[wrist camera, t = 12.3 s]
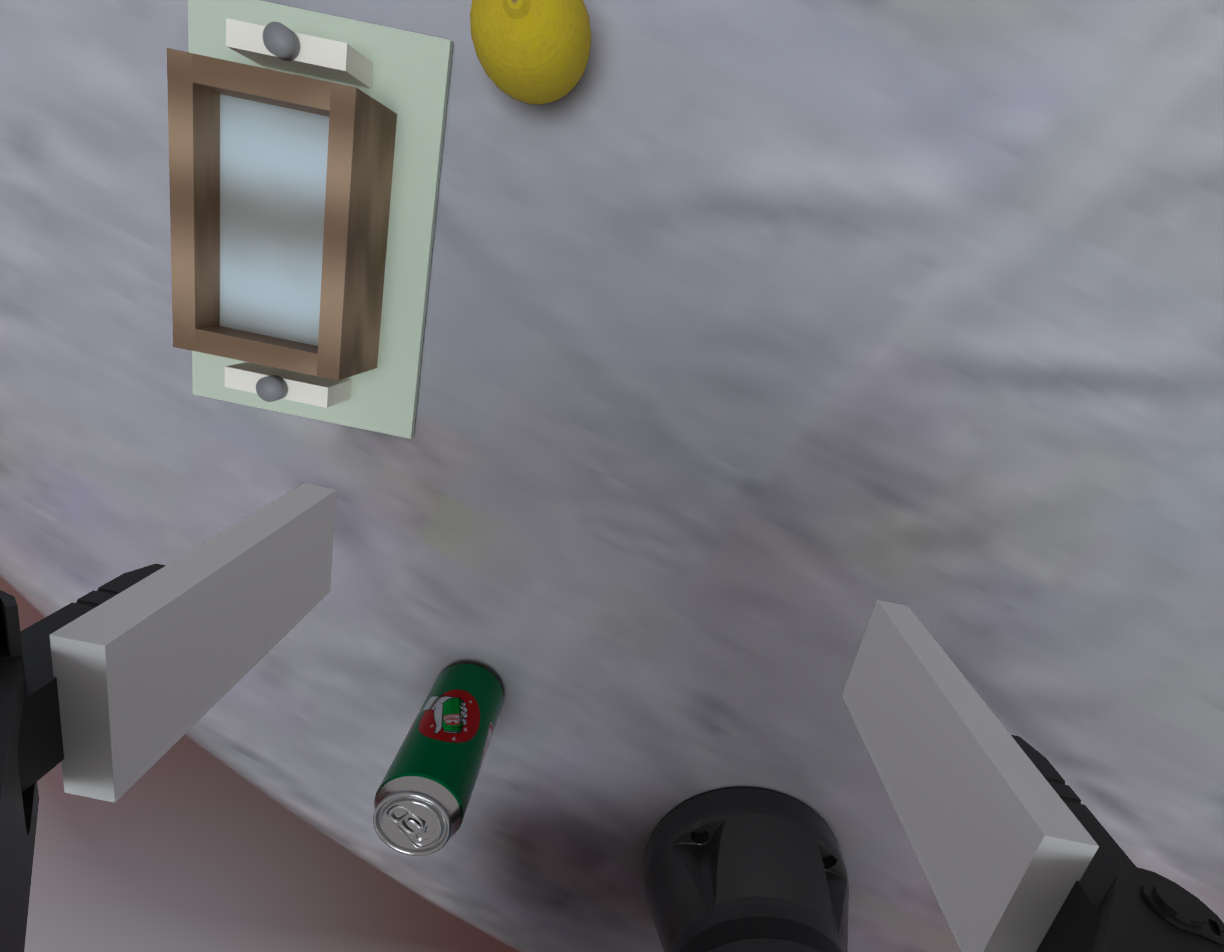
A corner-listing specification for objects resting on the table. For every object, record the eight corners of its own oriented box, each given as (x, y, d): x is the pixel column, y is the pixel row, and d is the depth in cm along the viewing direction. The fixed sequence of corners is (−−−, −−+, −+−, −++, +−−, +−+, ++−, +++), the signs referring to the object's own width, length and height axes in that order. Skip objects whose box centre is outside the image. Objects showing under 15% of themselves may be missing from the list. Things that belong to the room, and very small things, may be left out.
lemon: (487, 7, 33) (439, -75, 25) (593, -4, 32) (576, -91, 25) (500, 125, 34) (458, 81, 27) (600, 116, 34) (587, 69, 26)
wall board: (413, 436, 40) (386, 454, 36) (198, 392, 40) (146, 405, 36) (453, 43, 33) (425, 10, 29) (194, -11, 33) (130, -52, 29)
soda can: (471, 729, 47) (413, 875, 35) (422, 684, 46) (347, 819, 34) (519, 692, 45) (476, 832, 34) (470, 646, 44) (408, 773, 33)
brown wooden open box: (377, 367, 38) (338, 380, 34) (232, 338, 38) (173, 346, 33) (397, 114, 34) (356, 87, 29) (234, 80, 34) (166, 48, 29)
